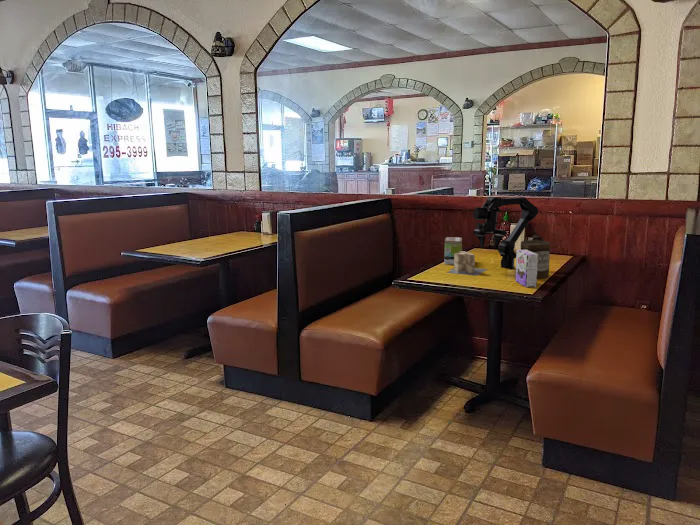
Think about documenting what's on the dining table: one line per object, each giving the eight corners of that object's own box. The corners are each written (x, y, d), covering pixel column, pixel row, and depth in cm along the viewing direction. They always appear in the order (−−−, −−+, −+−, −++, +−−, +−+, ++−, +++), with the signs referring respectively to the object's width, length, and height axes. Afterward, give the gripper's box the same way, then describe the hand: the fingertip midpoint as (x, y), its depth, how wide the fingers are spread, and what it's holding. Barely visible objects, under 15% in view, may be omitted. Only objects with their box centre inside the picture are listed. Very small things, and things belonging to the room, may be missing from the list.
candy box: (514, 281, 284) (515, 249, 281) (525, 280, 284) (527, 249, 281) (525, 287, 270) (526, 254, 267) (537, 287, 271) (538, 254, 268)
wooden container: (528, 280, 286) (530, 237, 281) (513, 274, 300) (515, 233, 296) (554, 278, 289) (556, 236, 285) (538, 272, 303) (540, 232, 299)
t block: (463, 268, 314) (463, 251, 312) (474, 272, 302) (474, 254, 300) (450, 269, 311) (450, 252, 309) (461, 274, 300) (461, 255, 298)
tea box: (461, 265, 325) (461, 240, 322) (444, 265, 327) (444, 240, 324) (461, 260, 339) (462, 236, 336) (444, 260, 341) (445, 236, 338)
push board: (487, 270, 311) (487, 267, 310) (476, 276, 295) (476, 273, 295) (458, 267, 320) (458, 264, 319) (446, 273, 304) (446, 270, 304)
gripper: (495, 218, 318) (492, 245, 320) (468, 218, 310) (466, 245, 313) (508, 220, 308) (505, 248, 310) (481, 220, 300) (478, 248, 303)
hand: (488, 247), depth 309 cm, fingers open, 9 cm apart
